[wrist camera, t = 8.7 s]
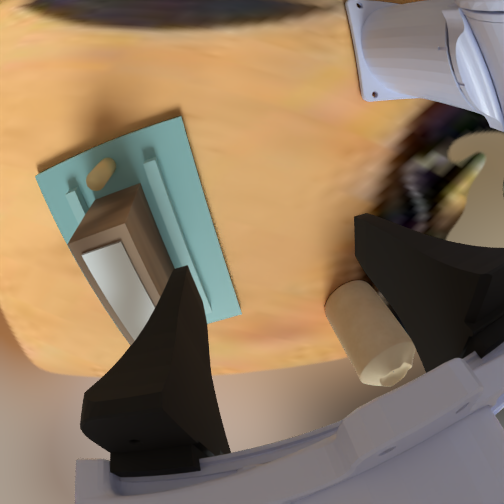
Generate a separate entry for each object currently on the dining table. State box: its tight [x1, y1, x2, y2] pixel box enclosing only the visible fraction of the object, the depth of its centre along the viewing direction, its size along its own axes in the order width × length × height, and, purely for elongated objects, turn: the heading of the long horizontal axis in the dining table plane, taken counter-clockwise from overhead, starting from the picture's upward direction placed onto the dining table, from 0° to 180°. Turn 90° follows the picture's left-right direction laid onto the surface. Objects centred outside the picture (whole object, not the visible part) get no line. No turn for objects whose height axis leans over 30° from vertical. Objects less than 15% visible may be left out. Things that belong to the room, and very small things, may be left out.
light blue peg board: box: [35, 116, 242, 343], centre depth 20 cm, size 11×17×4 cm, turn 12°
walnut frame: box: [67, 183, 175, 345], centre depth 19 cm, size 4×10×6 cm, turn 12°
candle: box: [325, 280, 415, 387], centre depth 25 cm, size 6×6×10 cm
